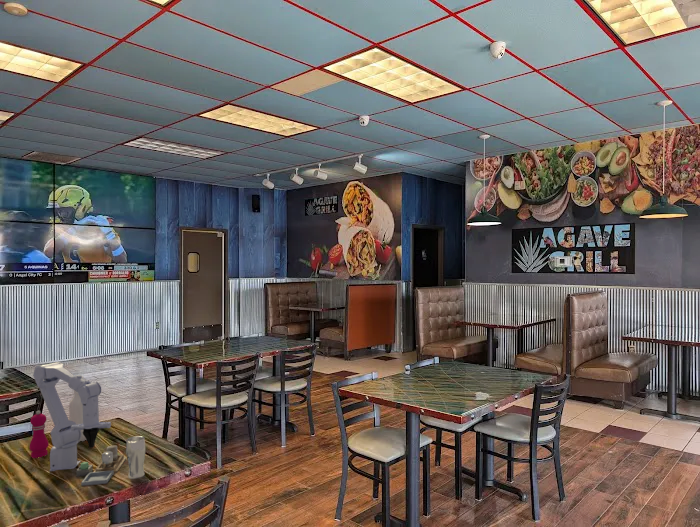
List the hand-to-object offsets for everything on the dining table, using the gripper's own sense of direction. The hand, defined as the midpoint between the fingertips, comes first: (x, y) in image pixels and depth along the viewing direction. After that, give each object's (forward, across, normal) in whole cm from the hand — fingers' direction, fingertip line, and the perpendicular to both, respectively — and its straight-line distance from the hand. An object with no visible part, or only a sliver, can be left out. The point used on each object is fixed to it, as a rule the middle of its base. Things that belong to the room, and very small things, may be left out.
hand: (91, 446), depth 203 cm
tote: (+10, +5, -9) cm, 15 cm away
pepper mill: (+10, -29, +24) cm, 39 cm away
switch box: (+10, -2, -2) cm, 11 cm away
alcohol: (+10, -18, +42) cm, 47 cm away
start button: (+10, -2, -2) cm, 10 cm away
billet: (+9, +6, 0) cm, 11 cm away
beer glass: (+11, +19, -9) cm, 23 cm away
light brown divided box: (+10, +6, +3) cm, 12 cm away
